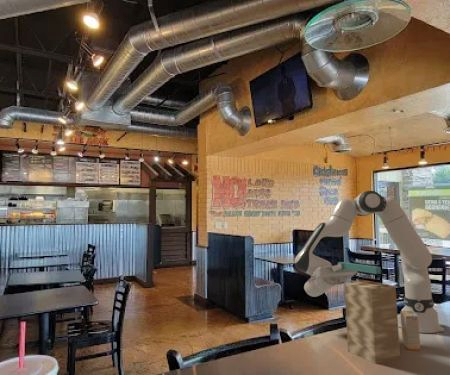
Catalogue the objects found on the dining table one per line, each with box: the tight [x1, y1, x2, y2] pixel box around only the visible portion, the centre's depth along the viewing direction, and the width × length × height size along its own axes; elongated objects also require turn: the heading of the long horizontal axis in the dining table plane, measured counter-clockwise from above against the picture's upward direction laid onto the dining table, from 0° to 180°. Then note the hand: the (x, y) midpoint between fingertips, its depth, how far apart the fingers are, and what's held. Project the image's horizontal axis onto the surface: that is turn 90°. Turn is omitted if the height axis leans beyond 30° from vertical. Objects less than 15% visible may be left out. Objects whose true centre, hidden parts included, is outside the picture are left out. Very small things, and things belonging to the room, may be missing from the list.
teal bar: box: [337, 261, 382, 275], centre depth 145 cm, size 21×2×2 cm, turn 23°
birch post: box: [344, 279, 401, 364], centre depth 139 cm, size 14×12×27 cm
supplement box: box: [400, 310, 421, 351], centre depth 145 cm, size 8×5×13 cm, turn 168°
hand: (345, 264), depth 152 cm, fingers closed on teal bar, 2 cm apart
